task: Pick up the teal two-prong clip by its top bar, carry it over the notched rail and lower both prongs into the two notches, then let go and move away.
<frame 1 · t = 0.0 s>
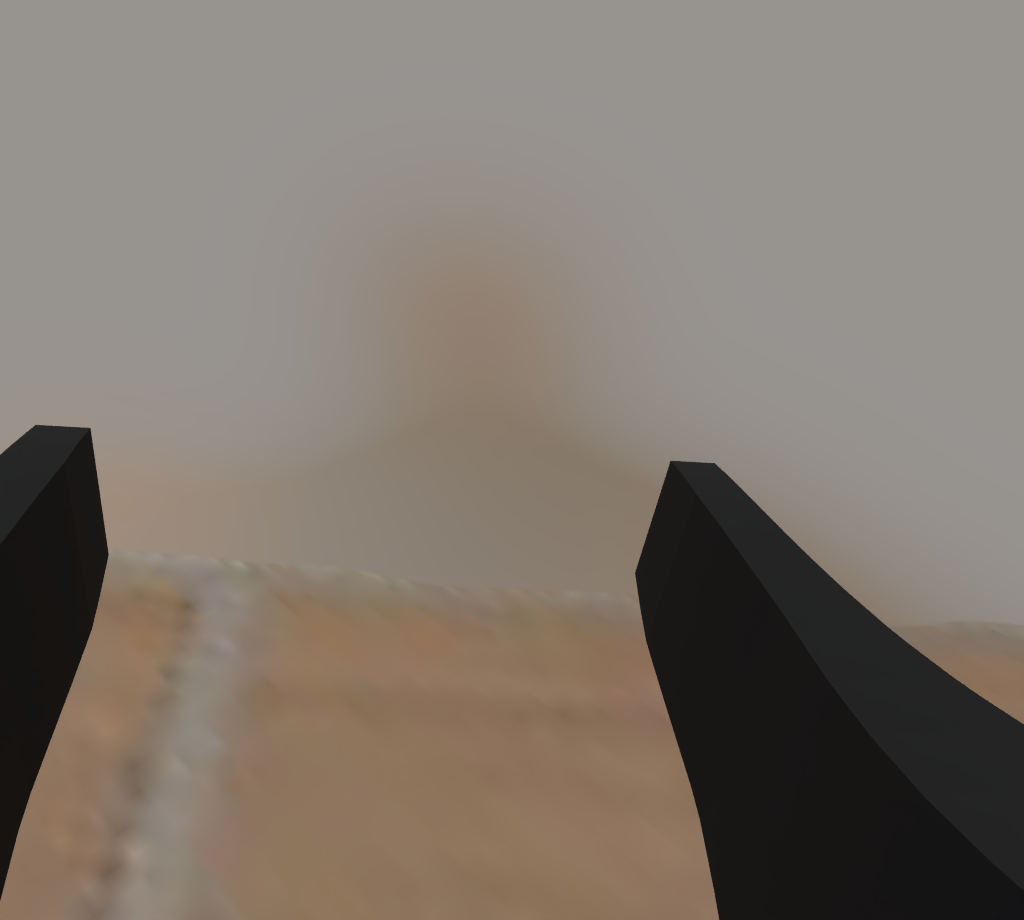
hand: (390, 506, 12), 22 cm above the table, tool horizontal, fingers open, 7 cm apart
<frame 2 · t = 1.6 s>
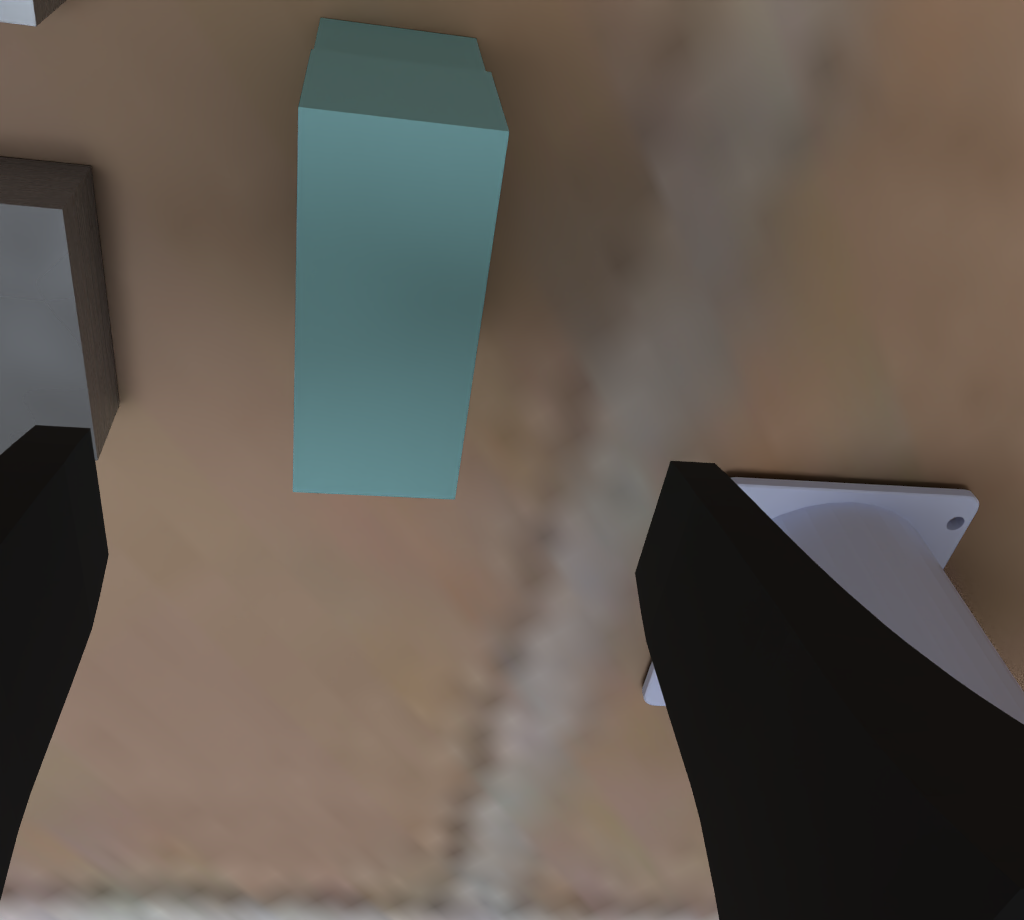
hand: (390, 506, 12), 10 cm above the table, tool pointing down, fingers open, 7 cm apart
clip: (387, 191, 20), on the table
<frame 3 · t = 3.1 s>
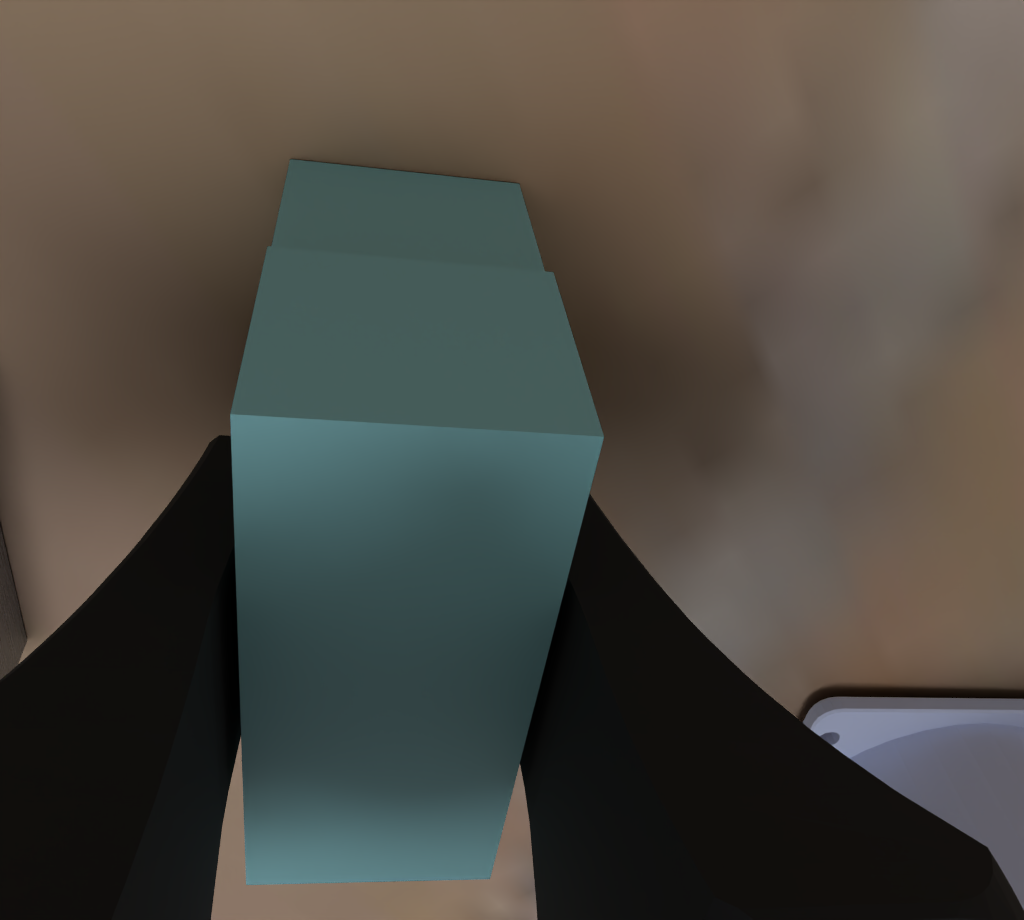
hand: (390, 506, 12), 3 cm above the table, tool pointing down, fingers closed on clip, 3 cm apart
clip: (389, 382, 14), on the table, touching gripper
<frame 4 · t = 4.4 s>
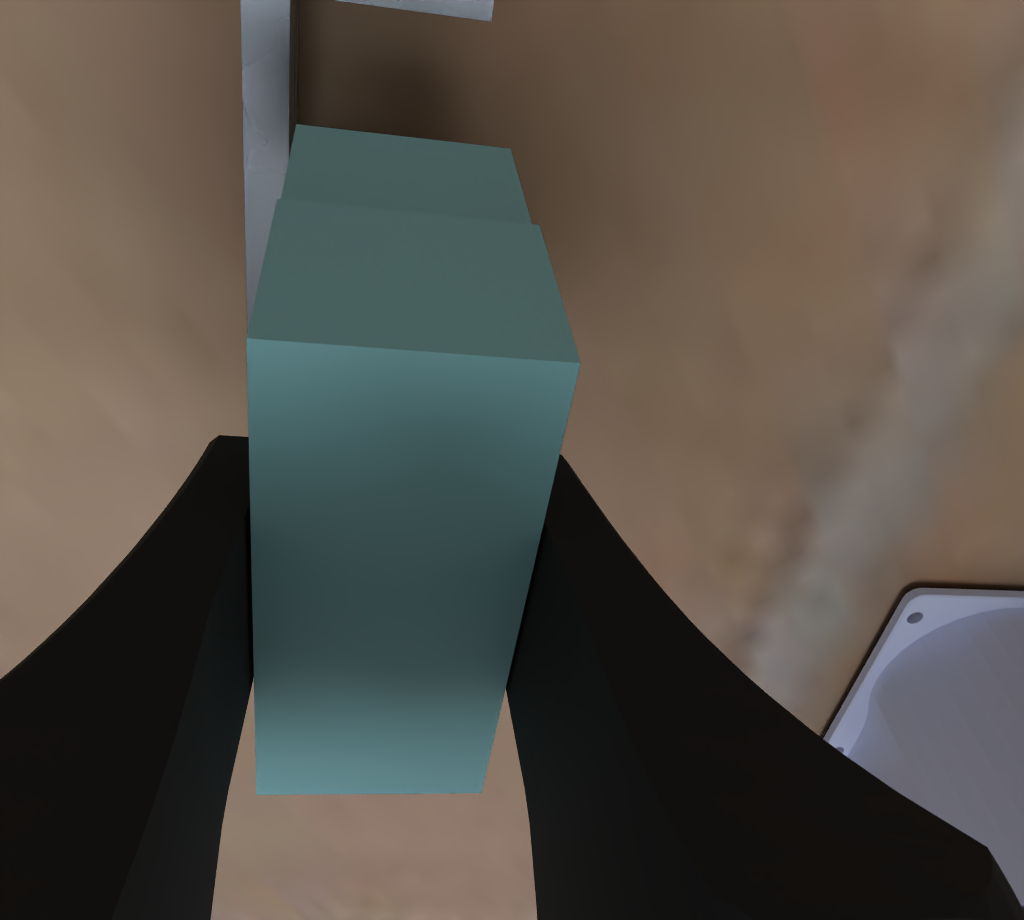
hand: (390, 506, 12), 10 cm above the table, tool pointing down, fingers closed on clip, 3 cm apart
clip: (388, 338, 15), point 6 cm above the table, touching gripper
rail: (387, 190, 20), on the table
when the fingers open (4 cm above the table, at t = 5.9 s): clip stays where it is, on the table.
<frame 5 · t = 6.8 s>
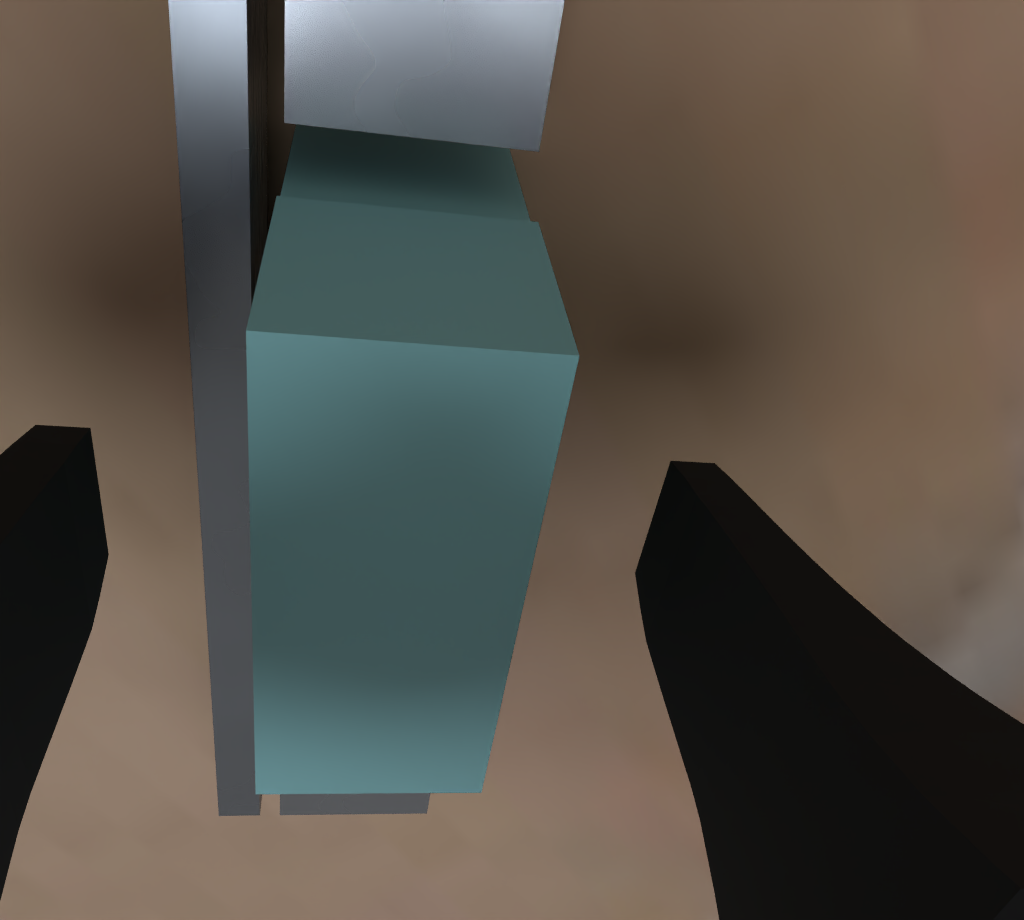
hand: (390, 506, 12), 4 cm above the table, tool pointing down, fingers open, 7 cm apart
clip: (388, 339, 15), on the table
rail: (388, 341, 15), on the table
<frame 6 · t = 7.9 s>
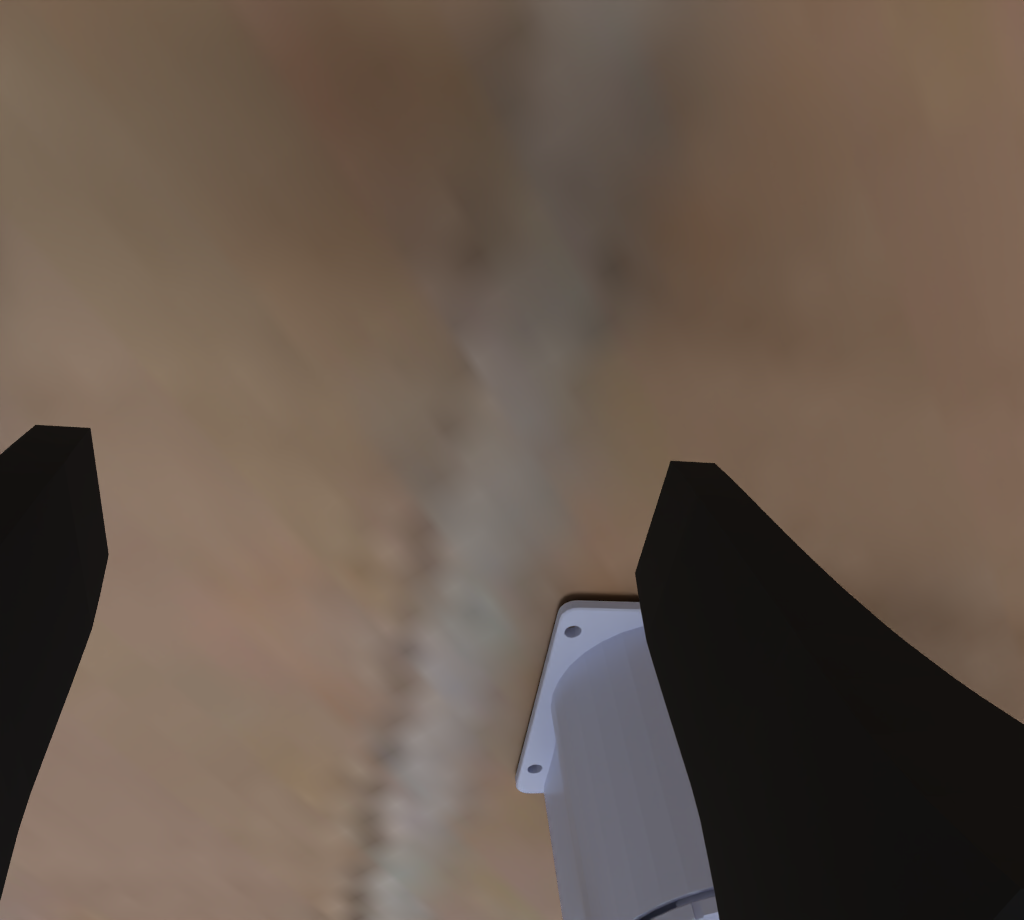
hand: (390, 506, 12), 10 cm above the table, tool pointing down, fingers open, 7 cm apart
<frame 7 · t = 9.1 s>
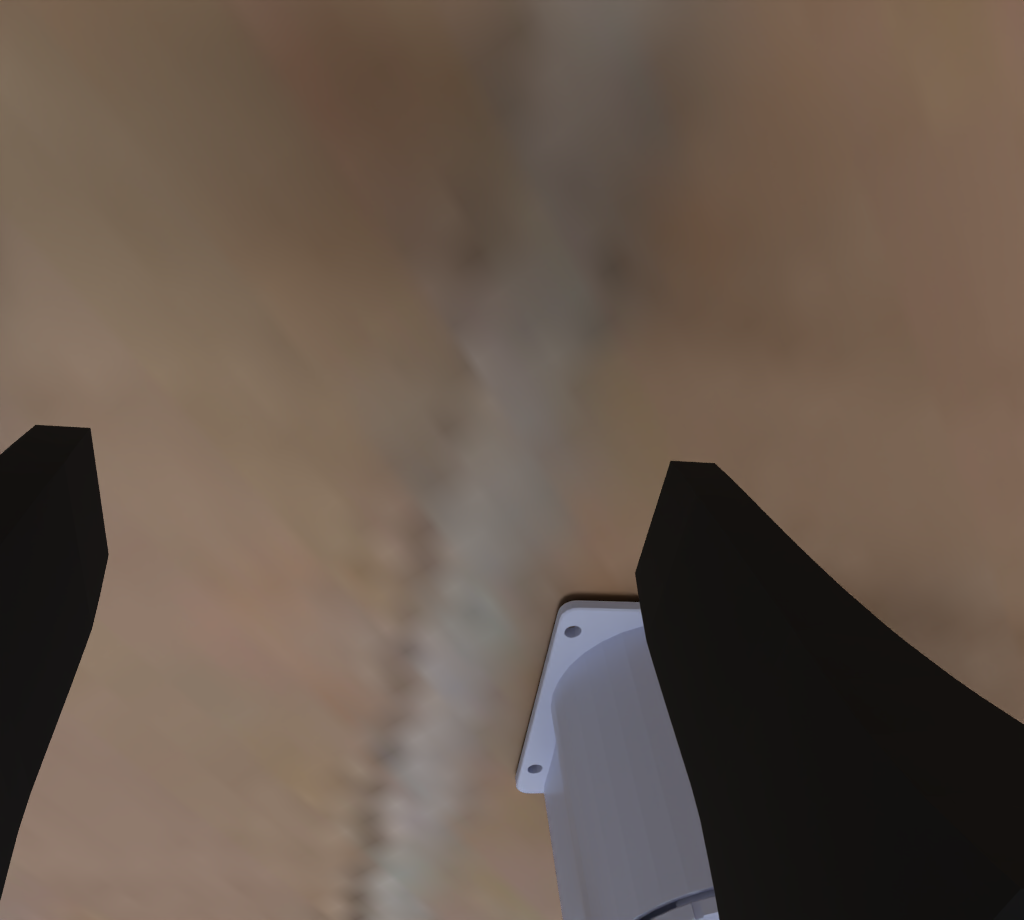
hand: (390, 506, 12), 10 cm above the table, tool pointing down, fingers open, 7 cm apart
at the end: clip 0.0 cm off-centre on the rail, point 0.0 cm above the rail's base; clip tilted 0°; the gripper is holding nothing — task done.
